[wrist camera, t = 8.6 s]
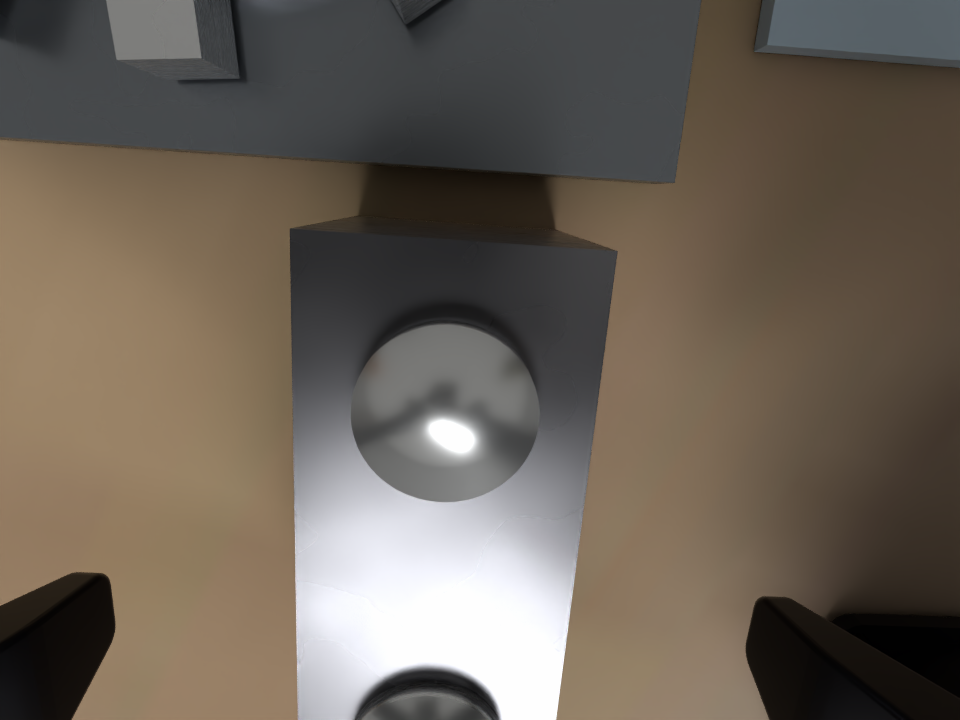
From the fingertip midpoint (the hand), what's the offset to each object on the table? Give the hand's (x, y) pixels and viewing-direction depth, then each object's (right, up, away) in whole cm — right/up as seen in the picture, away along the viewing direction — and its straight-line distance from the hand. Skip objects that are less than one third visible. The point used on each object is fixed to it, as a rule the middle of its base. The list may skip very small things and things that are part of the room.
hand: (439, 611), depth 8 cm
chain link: (0, +1, +5) cm, 5 cm away
